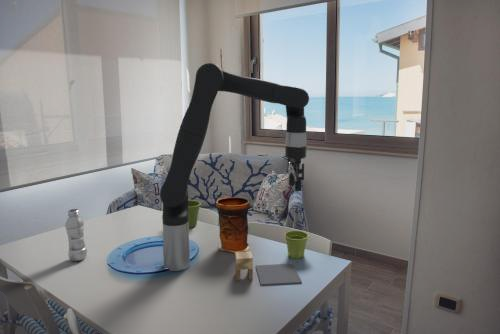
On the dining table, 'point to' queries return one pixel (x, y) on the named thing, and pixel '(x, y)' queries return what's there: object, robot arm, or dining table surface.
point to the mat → (277, 274)
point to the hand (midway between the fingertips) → (294, 188)
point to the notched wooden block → (244, 264)
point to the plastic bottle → (75, 236)
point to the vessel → (233, 223)
